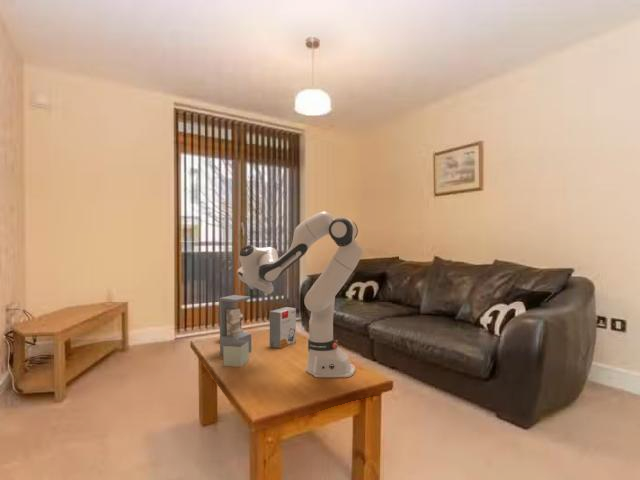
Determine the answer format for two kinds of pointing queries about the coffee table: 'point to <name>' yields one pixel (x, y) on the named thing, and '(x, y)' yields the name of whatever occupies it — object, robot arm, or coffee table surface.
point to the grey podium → (223, 305)
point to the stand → (236, 353)
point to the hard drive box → (282, 327)
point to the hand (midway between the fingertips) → (258, 291)
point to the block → (233, 321)
